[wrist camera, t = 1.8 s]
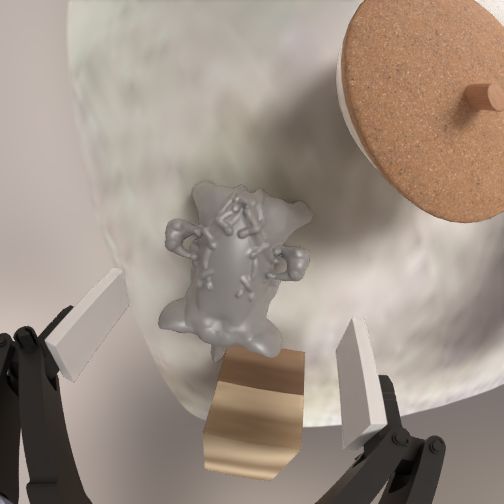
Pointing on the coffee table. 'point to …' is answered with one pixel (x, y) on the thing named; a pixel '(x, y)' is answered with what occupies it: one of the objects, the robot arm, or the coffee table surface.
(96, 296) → the robot arm
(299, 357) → the tower base
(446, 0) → the lidded jar
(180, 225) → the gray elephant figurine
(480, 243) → the coffee table surface
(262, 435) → the light wooden block
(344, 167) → the coffee table surface
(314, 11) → the coffee table surface
